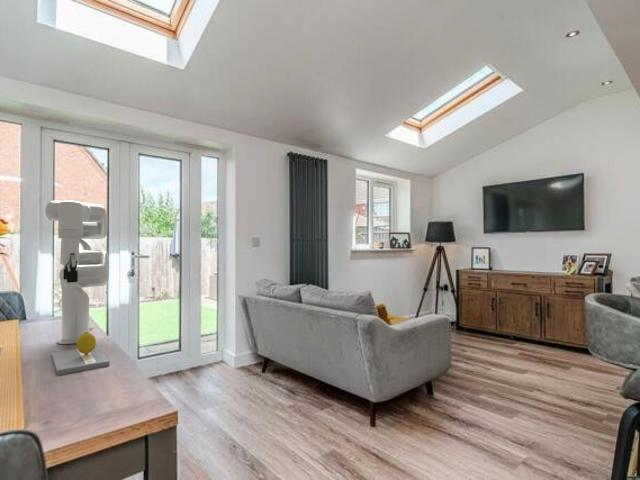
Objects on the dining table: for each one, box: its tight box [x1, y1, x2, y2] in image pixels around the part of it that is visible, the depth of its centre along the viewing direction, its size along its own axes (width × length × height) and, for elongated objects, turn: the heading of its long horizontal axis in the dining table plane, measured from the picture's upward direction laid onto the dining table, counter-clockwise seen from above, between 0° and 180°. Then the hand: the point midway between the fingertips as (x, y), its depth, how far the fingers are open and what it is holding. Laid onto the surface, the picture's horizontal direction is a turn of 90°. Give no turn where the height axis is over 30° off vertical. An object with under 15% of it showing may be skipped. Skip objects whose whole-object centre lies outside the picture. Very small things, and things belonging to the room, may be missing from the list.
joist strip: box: [76, 348, 96, 364], centre depth 126 cm, size 22×3×1 cm, turn 40°
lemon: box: [76, 332, 97, 355], centre depth 127 cm, size 6×6×8 cm
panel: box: [51, 345, 110, 376], centre depth 125 cm, size 24×14×2 cm, turn 40°
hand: (70, 280), depth 135 cm, fingers open, 9 cm apart
